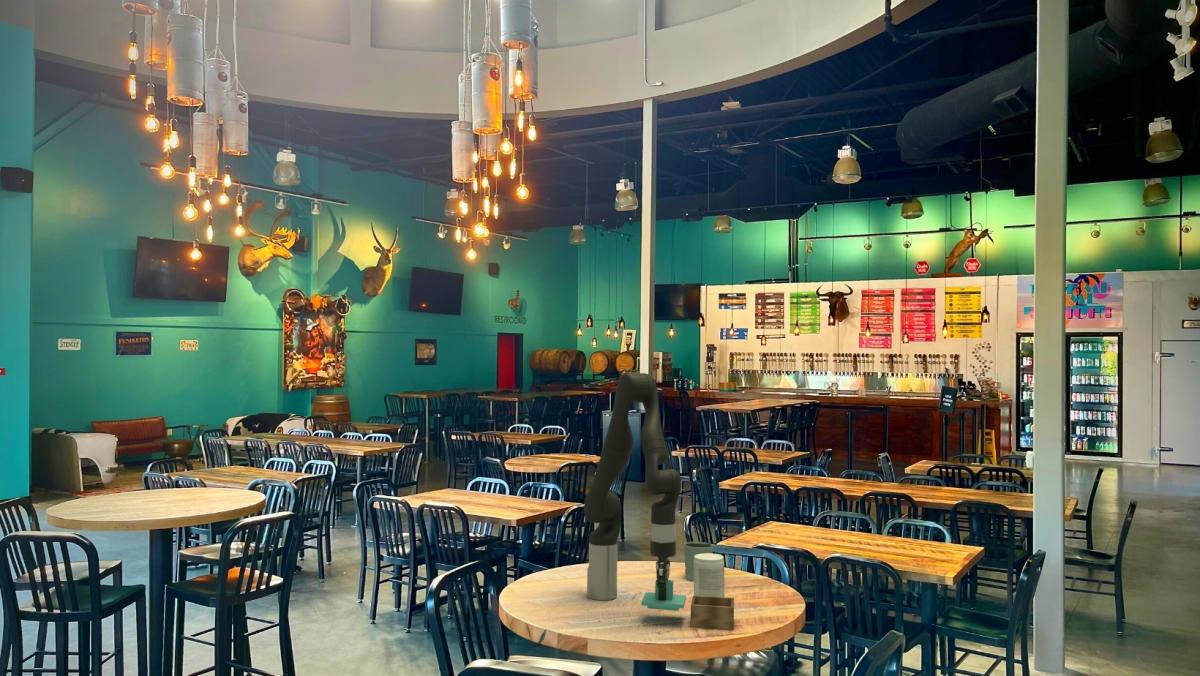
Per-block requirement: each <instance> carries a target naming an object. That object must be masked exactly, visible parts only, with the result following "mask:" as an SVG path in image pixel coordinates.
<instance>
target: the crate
mask: <svg viewBox="0 0 1200 676" xmlns="http://www.w3.org/2000/svg"><path fill="white" fill-rule="evenodd" d="M691 597H692V598H691V603H690V628H692V629H693V628H694V629H695V628H696V629H709V630H721V631H723V630H725V631H727V630H728V631H734V625H735V624H734V623H735V598H734V597H726V596H724V597H711V596H695V595H694V594H693V595H692V596H691Z"/></svg>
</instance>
